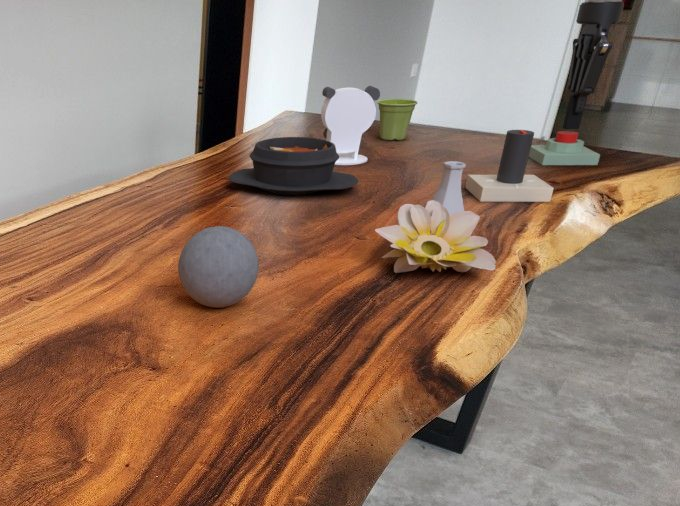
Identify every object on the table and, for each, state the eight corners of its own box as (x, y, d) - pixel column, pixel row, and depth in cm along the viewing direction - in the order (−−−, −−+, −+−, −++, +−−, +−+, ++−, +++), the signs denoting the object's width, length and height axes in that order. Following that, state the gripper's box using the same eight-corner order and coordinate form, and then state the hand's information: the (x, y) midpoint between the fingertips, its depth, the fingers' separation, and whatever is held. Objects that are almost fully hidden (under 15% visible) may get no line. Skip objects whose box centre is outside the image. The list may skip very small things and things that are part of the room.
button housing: (578, 155, 159) (583, 136, 157) (597, 165, 151) (603, 145, 148) (525, 155, 160) (530, 136, 158) (542, 165, 152) (547, 145, 150)
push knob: (571, 140, 155) (574, 130, 154) (578, 144, 152) (581, 134, 151) (551, 140, 156) (554, 131, 154) (558, 144, 152) (561, 134, 151)
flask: (451, 218, 121) (463, 157, 116) (475, 230, 115) (489, 166, 110) (411, 221, 120) (421, 159, 115) (433, 234, 114) (445, 169, 109)
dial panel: (530, 187, 137) (534, 173, 135) (550, 202, 128) (554, 186, 127) (465, 187, 138) (467, 173, 137) (480, 201, 129) (483, 186, 128)
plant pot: (365, 139, 181) (370, 102, 176) (385, 133, 186) (390, 97, 182) (399, 143, 175) (404, 105, 170) (418, 137, 180) (424, 100, 176)
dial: (493, 177, 134) (504, 128, 129) (518, 177, 133) (529, 127, 129) (500, 183, 130) (512, 132, 126) (526, 183, 130) (538, 132, 125)
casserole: (361, 180, 145) (366, 137, 140) (351, 205, 130) (358, 157, 125) (239, 174, 152) (241, 132, 148) (217, 196, 137) (218, 150, 133)
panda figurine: (361, 153, 167) (370, 83, 159) (377, 164, 157) (387, 89, 149) (310, 155, 166) (316, 84, 159) (322, 165, 157) (330, 91, 149)
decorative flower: (382, 277, 94) (395, 197, 91) (361, 267, 105) (372, 196, 102) (498, 284, 93) (515, 205, 90) (465, 274, 104) (479, 203, 101)
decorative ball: (182, 322, 88) (182, 242, 83) (174, 291, 96) (174, 217, 91) (263, 318, 88) (268, 238, 83) (248, 288, 97) (252, 214, 91)
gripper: (569, 0, 146) (540, 123, 158) (596, 2, 135) (563, 134, 147) (608, -1, 145) (577, 122, 157) (639, 0, 134) (602, 133, 146)
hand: (570, 128), depth 152 cm, fingers closed
